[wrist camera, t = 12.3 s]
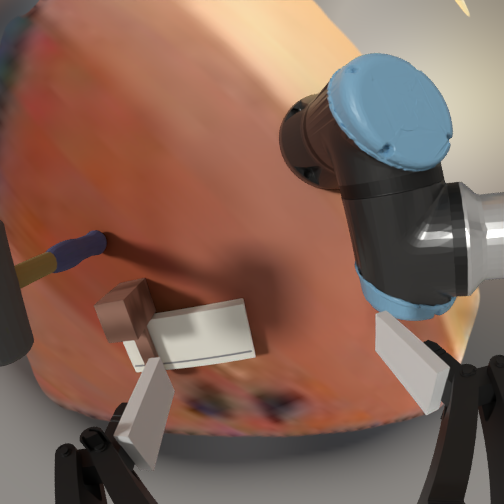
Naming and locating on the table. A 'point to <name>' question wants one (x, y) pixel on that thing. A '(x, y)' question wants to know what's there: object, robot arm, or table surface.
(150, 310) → the block
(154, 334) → the board
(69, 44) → the table surface
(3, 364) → the rubber mallet
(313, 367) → the table surface
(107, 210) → the table surface
